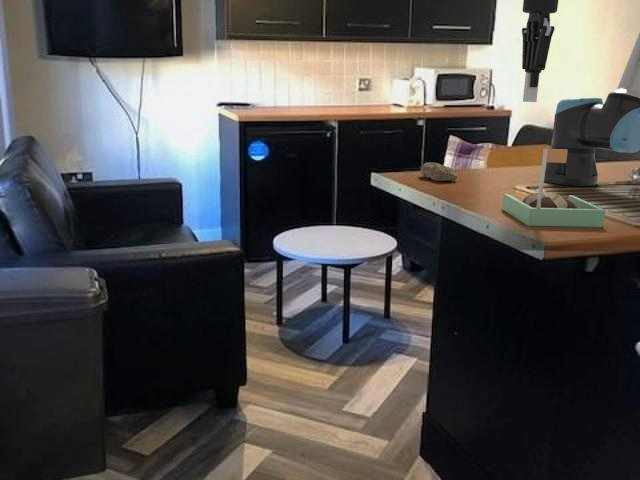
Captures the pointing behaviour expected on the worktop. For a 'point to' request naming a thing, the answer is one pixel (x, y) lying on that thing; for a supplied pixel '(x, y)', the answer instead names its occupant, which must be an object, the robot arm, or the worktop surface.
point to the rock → (438, 172)
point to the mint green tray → (554, 216)
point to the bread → (549, 201)
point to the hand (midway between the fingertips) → (529, 101)
